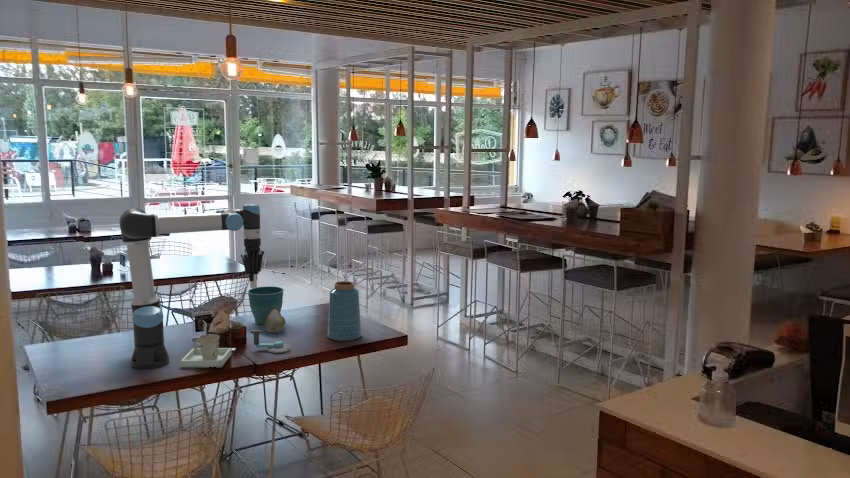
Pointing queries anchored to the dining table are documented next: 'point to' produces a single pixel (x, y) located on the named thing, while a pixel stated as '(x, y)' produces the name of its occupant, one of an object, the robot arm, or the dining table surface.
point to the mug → (208, 346)
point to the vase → (344, 312)
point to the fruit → (274, 321)
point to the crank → (258, 345)
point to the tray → (197, 361)
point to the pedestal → (279, 349)
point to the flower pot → (265, 301)
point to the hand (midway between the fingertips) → (253, 287)
